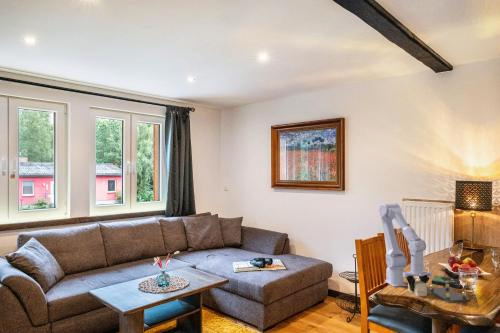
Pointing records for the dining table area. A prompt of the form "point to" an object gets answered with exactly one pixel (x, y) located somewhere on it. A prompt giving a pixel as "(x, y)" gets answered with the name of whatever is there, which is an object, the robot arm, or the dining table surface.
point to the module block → (419, 288)
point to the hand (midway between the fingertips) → (417, 290)
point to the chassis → (448, 294)
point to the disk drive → (447, 282)
